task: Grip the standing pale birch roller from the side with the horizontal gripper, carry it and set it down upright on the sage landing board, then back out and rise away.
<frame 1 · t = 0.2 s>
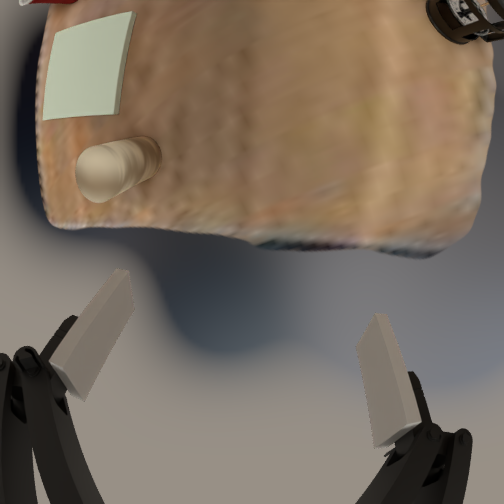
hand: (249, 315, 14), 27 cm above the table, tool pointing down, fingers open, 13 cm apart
french press: (451, 21, 20), on the table
landing board: (84, 67, 31), on the table
birch roller: (141, 157, 38), on the table
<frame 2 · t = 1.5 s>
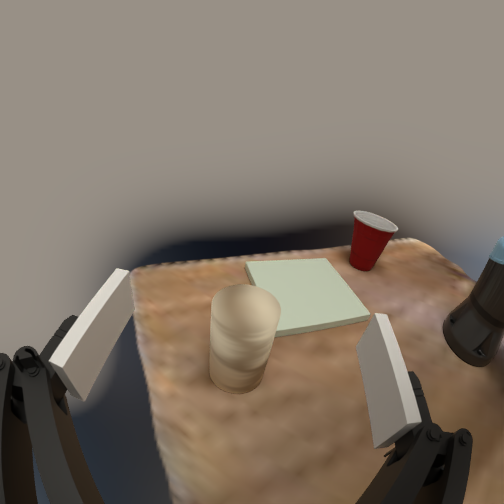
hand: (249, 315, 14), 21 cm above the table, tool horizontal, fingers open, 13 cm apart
plastic cup: (360, 264, 61), on the table
landing board: (304, 293, 49), on the table
birch roller: (236, 371, 33), on the table
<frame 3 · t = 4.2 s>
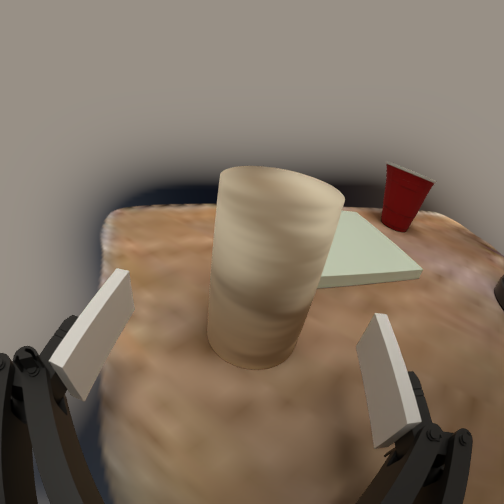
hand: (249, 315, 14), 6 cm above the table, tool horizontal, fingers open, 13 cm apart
plastic cup: (393, 225, 49), on the table
landing board: (337, 244, 37), on the table
birch roller: (251, 333, 21), on the table
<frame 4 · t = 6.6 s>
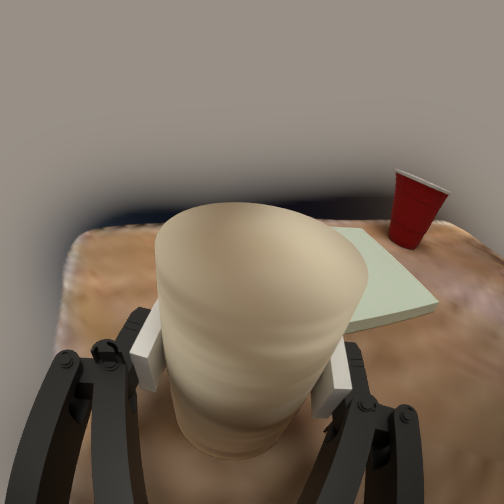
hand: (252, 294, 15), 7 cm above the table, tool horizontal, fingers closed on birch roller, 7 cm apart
plastic cup: (402, 241, 43), on the table
landing board: (340, 272, 31), on the table
birch roller: (231, 410, 15), on the table, touching gripper
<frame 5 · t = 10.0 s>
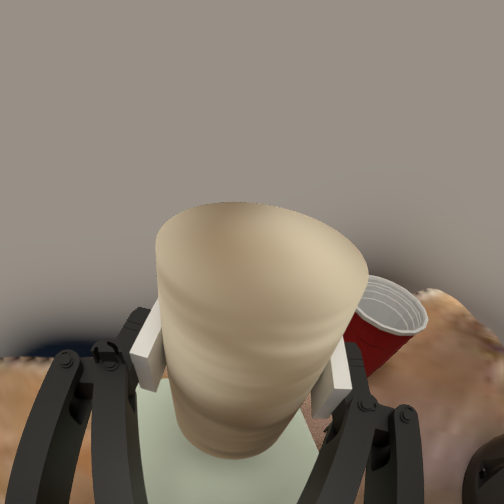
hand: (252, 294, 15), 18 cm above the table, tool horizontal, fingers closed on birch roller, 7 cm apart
plastic cup: (349, 365, 33), on the table
landing board: (221, 454, 21), on the table
birch roller: (231, 410, 15), point 11 cm above the table, touching gripper
when the fingers open (8 cm above the table, at t = 13.7 s): birch roller stays where it is, resting on landing board.
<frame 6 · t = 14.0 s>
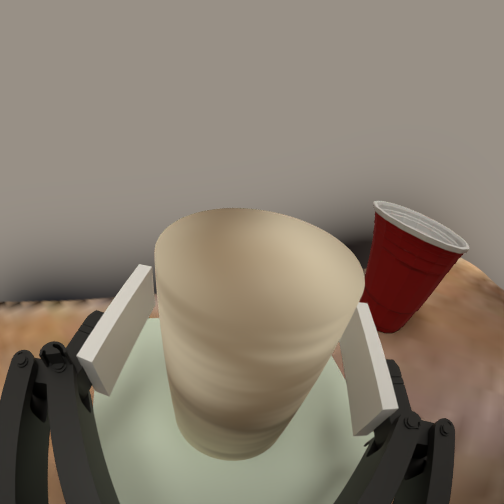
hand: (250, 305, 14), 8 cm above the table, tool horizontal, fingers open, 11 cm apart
plastic cup: (380, 315, 28), on the table
landing board: (228, 420, 16), on the table
birch roller: (230, 412, 15), point 1 cm above the table, touching landing board
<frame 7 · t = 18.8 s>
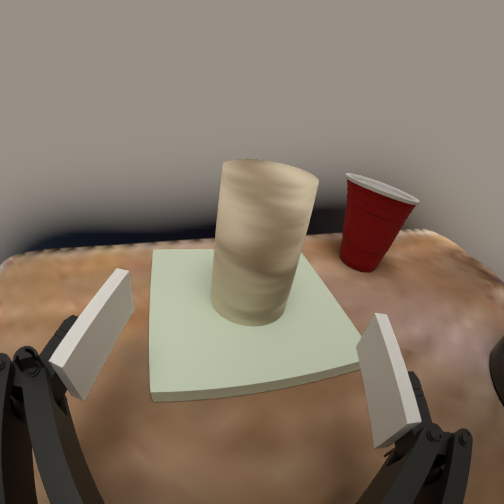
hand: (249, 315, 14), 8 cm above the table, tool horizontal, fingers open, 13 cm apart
plastic cup: (357, 261, 38), on the table
landing board: (246, 310, 26), on the table
birch roller: (248, 299, 25), point 2 cm above the table, touching landing board
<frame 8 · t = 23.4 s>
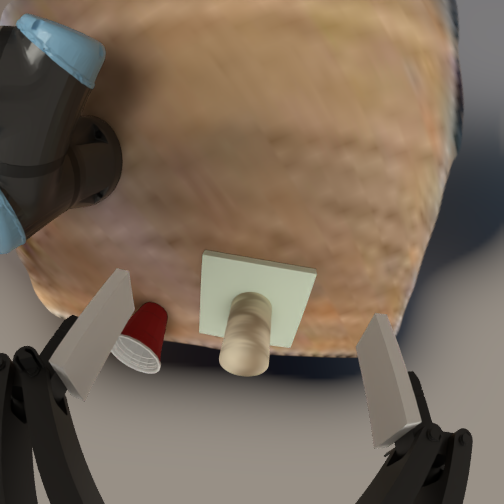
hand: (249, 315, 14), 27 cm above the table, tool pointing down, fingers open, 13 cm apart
plastic cup: (154, 312, 52), on the table
landing board: (252, 302, 48), on the table
birch roller: (251, 307, 47), point 2 cm above the table, touching landing board
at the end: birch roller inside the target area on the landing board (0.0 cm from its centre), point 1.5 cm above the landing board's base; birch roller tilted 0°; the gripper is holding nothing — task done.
